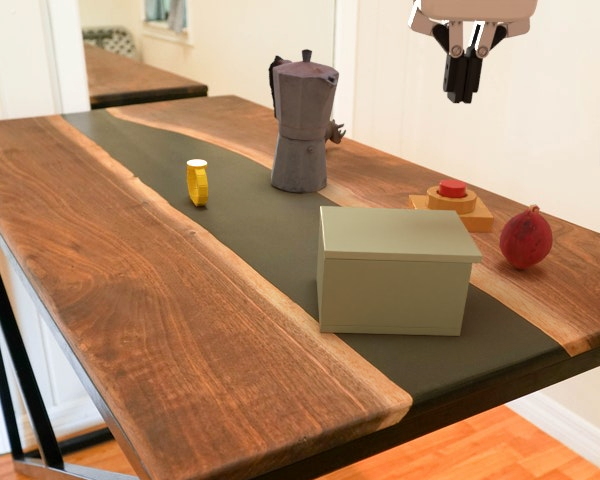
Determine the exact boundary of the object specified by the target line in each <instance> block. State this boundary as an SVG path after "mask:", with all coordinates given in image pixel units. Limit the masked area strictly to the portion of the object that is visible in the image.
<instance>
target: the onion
mask: <svg viewBox="0 0 600 480" xmlns="http://www.w3.org/2000/svg"><path fill="white" fill-rule="evenodd" d="M540 209H541V208H540V207H539V206H538V205H537V204H530V205H529V206H528V207H527V208H526V209H525V210H524V211H523V212H521V213H518V214H516V215H514V216H513V217H512V218H510V219H509V220H508V221H507V222H506V223H505V224H504V226H503V228H502V230H501V233H500V237H499V249H500V252H501V253H502V255H503V257H504V258H505V260H506V261H507V262H508V263H509V264H510V265H511V266H513V268H515V269H517V270H520V271H523V270H526V269H528V268H530V267H532V266H535V265H537V264H539V263H540V262H542V261H544V259H545V258H546V257H547V256H548V255H549V254H550V252H551V251H552V248H553V240H554V239H553V231H552V228H551V225H550V224H549V222H548V221H547V220H546V219H545V217H543V216H542V215H541V214H540V213H539V212H540Z"/></svg>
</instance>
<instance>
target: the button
mask: <svg viewBox="0 0 600 480" xmlns="http://www.w3.org/2000/svg"><path fill="white" fill-rule="evenodd" d="M438 186H439V192H438V195H441V196H443V197H448V198H459V199H460V198H465V195H466V189H468V184H467V183H466V182H464V181H462V180H458V179H442V180H440V182H439V185H438Z"/></svg>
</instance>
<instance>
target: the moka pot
mask: <svg viewBox="0 0 600 480" xmlns="http://www.w3.org/2000/svg"><path fill="white" fill-rule="evenodd" d="M312 56H313V50H311V49H308V48H306V49H302V50H301V57H302V60H300V61H292V60H290V59H284V58H282V57H281V56H279V55H274V60H273V61H272V62H271V63H270V64H269V67H268V70H267V71H268V80H269V82H268V83H269V87H270V92H271V93H270V94H271V98H272V107H273V117H274V118H275V119H276V120H277V122H278V123H277V124H278V127H277V128H278V129H277V130H278V134H277V138H276V142H275V143H276V144H275V151H274V156H273V161H272V167H271V172H270V173H271V174H270V183H271V185H272V186H274V187H275V188H278V190H282V191H284V192H289V193H296V194H305V193H307V194H308V193H314V192H318V191H321V190H323V189H324V188H325V187H326V186H327V184H328V174H327V173H328V171H327V158H326V157H327V155H326V154H327V153H326V151H327V150H326V144H325V138H324V136H325V133H326V125H327V124H328V123H329V122H330V121H331V117H332V113H333V112H332V111H333V106H334V101H335V96H336V92H337V87H338V83H339V77H340V72H339V71H338V70H336V68H333V67H332V66H329V65H327V64H322V63H318V62H314V61H311V60H312Z"/></svg>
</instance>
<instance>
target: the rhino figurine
mask: <svg viewBox="0 0 600 480" xmlns="http://www.w3.org/2000/svg"><path fill="white" fill-rule="evenodd" d="M344 126H345V123H340V124H337V123H336V119H334V118H333V119H332V120H330V122H329V123H328V124H327V125H326V133H325V136H324V138H325V145H326V144H327V141H330V142H332V143H333V144H335V145H340V144H341V142H342V139H343V138H344V136H345V135H346V134H347V129H344V130H343V132H342V128H344Z"/></svg>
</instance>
